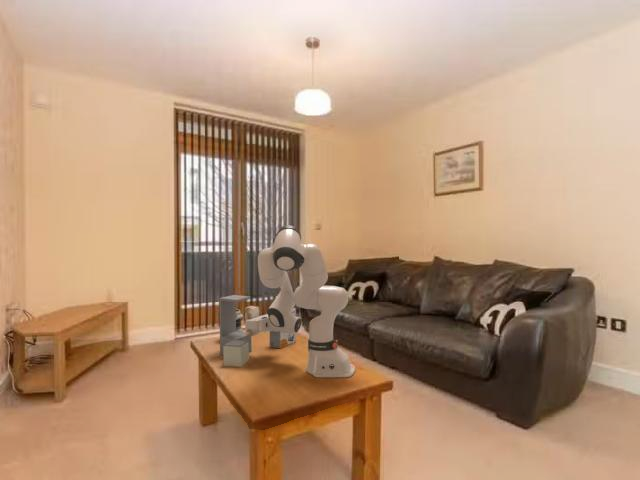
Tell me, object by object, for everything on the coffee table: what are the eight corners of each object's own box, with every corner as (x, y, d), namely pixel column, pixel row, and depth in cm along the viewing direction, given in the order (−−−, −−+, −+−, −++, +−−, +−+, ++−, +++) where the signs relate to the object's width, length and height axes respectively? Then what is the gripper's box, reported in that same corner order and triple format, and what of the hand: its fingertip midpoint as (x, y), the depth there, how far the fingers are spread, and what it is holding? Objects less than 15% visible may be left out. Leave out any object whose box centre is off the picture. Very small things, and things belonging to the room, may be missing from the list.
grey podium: (251, 351, 194) (250, 296, 194) (237, 357, 184) (236, 299, 184) (234, 348, 200) (233, 294, 199) (220, 354, 190) (219, 298, 190)
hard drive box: (280, 349, 198) (279, 312, 197) (269, 346, 202) (268, 311, 201) (296, 341, 211) (296, 307, 210) (285, 339, 215) (285, 306, 214)
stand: (248, 360, 180) (248, 340, 180) (241, 366, 171) (240, 346, 171) (232, 359, 182) (231, 339, 182) (223, 365, 173) (223, 345, 173)
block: (259, 333, 187) (258, 306, 187) (253, 335, 183) (252, 308, 183) (251, 332, 190) (251, 305, 190) (245, 334, 186) (244, 307, 185)
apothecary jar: (240, 343, 209) (239, 312, 208) (219, 343, 210) (219, 312, 209) (245, 337, 221) (245, 308, 221) (226, 337, 222) (226, 308, 221)
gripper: (284, 311, 189) (263, 309, 196) (259, 319, 171) (237, 317, 178) (284, 323, 189) (263, 320, 196) (259, 333, 171) (237, 329, 178)
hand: (250, 319), depth 187 cm, fingers closed on block, 5 cm apart
